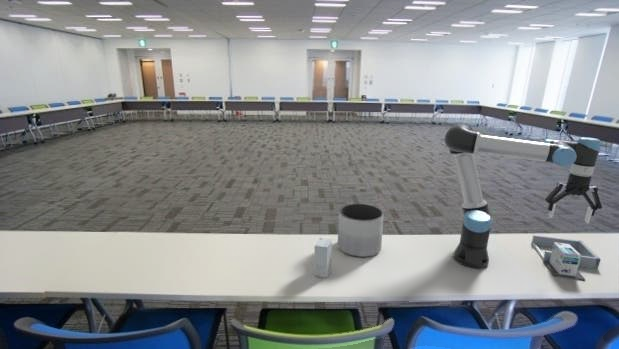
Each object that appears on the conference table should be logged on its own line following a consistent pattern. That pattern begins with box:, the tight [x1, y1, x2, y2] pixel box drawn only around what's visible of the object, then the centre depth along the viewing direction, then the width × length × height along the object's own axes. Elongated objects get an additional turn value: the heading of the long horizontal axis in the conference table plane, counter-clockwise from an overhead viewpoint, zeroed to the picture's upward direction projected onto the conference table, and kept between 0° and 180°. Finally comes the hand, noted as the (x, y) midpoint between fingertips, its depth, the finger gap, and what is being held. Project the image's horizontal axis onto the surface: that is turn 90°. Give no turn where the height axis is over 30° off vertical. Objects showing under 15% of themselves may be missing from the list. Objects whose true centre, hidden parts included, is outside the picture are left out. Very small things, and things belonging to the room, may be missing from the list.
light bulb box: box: [549, 242, 582, 276], centre depth 148 cm, size 11×7×11 cm, turn 166°
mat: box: [542, 260, 586, 281], centre depth 149 cm, size 12×12×1 cm
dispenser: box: [531, 234, 601, 270], centre depth 162 cm, size 22×18×5 cm
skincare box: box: [314, 237, 332, 279], centre depth 144 cm, size 8×6×15 cm
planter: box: [337, 203, 384, 258], centre depth 165 cm, size 22×22×20 cm
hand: (568, 219), depth 146 cm, fingers open, 13 cm apart
